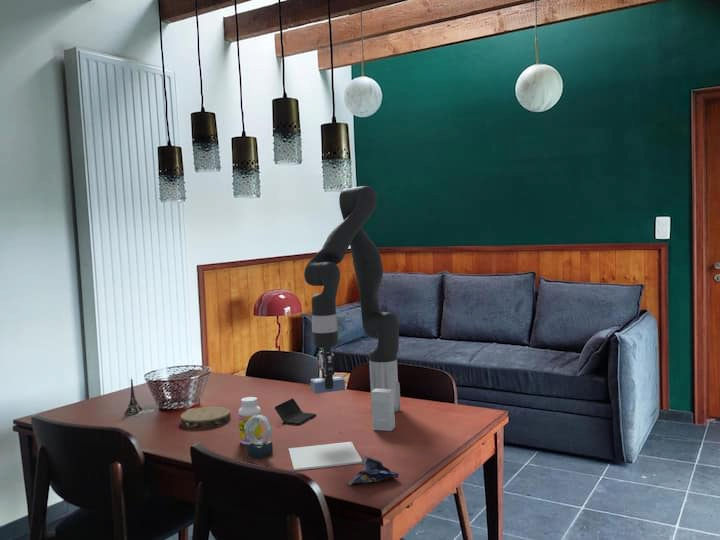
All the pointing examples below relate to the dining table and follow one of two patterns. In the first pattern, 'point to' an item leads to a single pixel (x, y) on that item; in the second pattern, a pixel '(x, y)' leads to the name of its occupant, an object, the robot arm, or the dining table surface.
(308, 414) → the handheld gaming console
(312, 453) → the mat
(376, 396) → the skincare box
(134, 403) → the eiffel tower figurine
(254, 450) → the watch
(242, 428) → the supplement bottle
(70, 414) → the dining table surface
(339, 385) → the card deck
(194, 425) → the beige round flat disc
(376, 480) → the snack package
